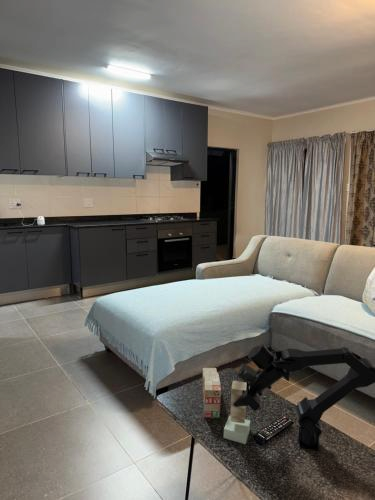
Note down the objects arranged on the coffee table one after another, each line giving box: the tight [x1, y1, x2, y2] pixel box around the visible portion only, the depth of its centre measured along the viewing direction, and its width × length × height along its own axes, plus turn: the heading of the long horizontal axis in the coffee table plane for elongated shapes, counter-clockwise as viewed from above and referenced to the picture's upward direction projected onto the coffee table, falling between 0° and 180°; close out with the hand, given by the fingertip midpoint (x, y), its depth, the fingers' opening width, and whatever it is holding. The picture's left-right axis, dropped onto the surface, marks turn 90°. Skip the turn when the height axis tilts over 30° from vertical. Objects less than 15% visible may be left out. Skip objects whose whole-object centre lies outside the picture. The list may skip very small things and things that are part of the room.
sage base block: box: [223, 414, 251, 445], centre depth 126 cm, size 8×8×4 cm
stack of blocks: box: [202, 367, 222, 419], centre depth 144 cm, size 21×6×12 cm, turn 0°
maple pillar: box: [230, 380, 247, 423], centre depth 124 cm, size 5×5×13 cm
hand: (234, 400), depth 124 cm, fingers closed on maple pillar, 5 cm apart
